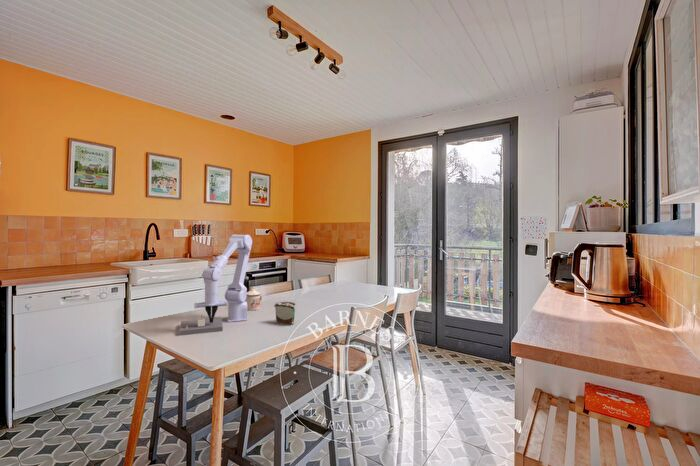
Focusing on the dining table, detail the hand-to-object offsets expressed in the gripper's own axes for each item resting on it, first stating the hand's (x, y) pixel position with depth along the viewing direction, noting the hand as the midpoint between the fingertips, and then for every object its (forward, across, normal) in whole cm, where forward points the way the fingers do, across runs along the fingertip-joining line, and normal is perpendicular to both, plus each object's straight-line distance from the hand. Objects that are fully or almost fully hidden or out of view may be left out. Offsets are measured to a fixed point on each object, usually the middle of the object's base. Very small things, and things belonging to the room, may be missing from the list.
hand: (211, 322), depth 156 cm
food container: (+3, +36, -2) cm, 36 cm away
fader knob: (+1, -4, 0) cm, 4 cm away
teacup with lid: (+3, +24, +32) cm, 40 cm away
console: (+3, -4, +3) cm, 6 cm away
